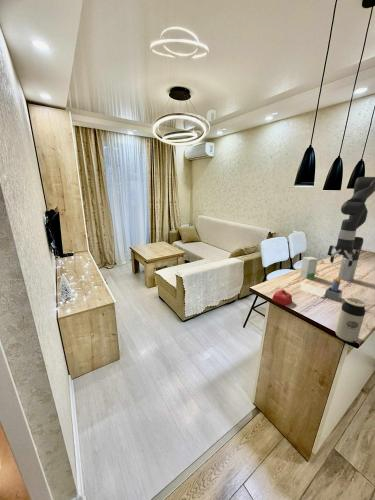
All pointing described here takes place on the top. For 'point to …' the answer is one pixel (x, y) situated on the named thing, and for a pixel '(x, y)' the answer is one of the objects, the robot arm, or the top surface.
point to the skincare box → (308, 267)
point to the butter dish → (282, 297)
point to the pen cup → (333, 294)
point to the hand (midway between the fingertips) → (340, 264)
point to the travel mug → (350, 319)
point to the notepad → (313, 290)
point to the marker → (335, 284)
